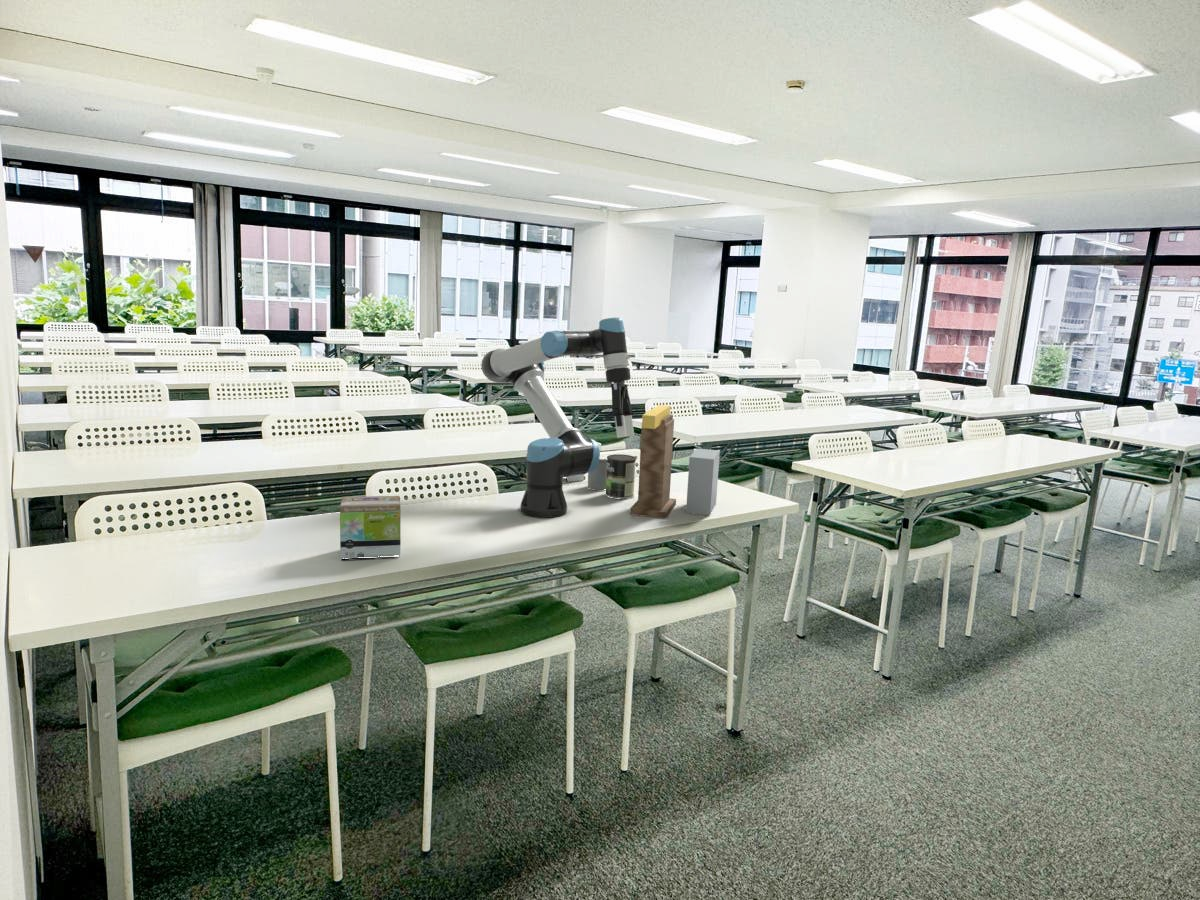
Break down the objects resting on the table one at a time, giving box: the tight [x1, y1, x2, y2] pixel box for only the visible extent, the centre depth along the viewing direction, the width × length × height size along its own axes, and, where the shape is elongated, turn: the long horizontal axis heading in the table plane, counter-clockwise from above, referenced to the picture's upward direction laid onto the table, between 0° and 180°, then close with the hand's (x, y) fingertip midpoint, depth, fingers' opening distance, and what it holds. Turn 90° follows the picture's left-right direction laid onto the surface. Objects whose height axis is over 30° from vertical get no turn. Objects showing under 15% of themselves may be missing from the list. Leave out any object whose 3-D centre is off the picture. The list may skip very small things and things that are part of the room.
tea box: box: [339, 495, 402, 559], centre depth 195 cm, size 15×10×15 cm, turn 106°
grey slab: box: [685, 448, 721, 516], centre depth 251 cm, size 8×16×19 cm, turn 164°
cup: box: [587, 458, 607, 491], centre depth 275 cm, size 8×8×10 cm
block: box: [641, 404, 672, 429], centre depth 240 cm, size 4×26×4 cm, turn 164°
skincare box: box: [566, 474, 585, 482], centre depth 288 cm, size 10×6×10 cm, turn 25°
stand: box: [629, 413, 677, 519], centre depth 246 cm, size 12×18×32 cm, turn 164°
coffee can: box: [605, 453, 637, 500], centre depth 264 cm, size 10×10×14 cm
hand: (626, 436), depth 230 cm, fingers open, 13 cm apart
